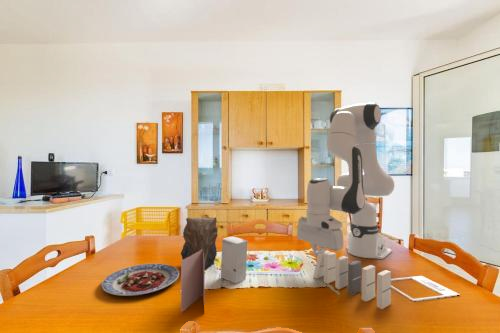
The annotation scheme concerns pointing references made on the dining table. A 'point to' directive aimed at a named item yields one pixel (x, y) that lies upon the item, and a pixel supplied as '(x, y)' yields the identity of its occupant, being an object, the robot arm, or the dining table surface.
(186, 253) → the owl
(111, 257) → the dining table surface
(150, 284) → the ceramic plate
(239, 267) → the skincare box
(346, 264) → the domino
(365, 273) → the domino
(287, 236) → the dining table surface
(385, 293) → the domino
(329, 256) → the domino
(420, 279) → the photo frame
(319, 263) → the domino
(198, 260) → the greeting card
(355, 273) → the domino
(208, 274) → the dining table surface
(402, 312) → the dining table surface
